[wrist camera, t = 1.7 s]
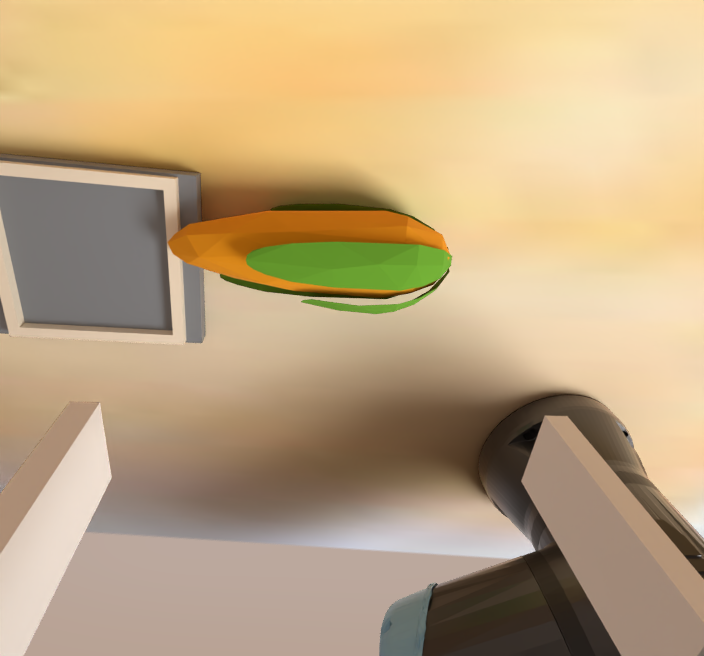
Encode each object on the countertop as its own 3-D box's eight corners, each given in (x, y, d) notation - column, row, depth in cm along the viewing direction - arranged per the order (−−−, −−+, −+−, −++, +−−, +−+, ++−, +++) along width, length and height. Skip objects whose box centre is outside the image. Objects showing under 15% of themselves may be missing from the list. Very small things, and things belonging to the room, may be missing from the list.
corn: (457, 331, 32) (155, 321, 30) (429, 297, 39) (183, 286, 37) (476, 223, 29) (145, 202, 27) (442, 207, 36) (177, 189, 34)
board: (205, 334, 39) (200, 347, 37) (10, 324, 37) (-8, 338, 35) (200, 172, 33) (193, 177, 31) (-31, 150, 31) (-55, 153, 29)
